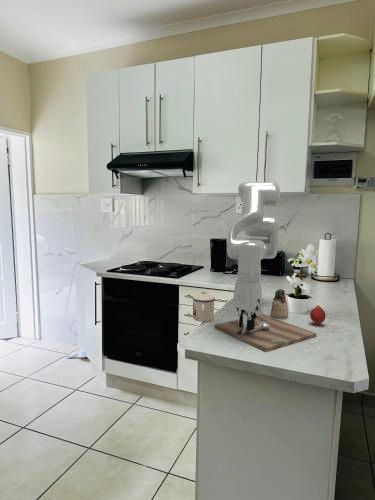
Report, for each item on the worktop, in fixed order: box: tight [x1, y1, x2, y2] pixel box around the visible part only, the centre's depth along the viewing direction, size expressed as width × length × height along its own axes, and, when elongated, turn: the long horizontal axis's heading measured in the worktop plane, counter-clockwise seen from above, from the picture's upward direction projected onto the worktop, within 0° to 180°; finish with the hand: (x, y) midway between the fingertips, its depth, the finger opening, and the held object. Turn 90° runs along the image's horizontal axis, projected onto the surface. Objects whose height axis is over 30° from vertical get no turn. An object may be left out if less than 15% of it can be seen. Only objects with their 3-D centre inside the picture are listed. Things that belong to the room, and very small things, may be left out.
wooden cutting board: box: [214, 314, 317, 353], centre depth 125 cm, size 26×26×1 cm
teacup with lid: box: [192, 290, 216, 323], centre depth 137 cm, size 12×9×12 cm
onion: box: [309, 304, 327, 325], centre depth 135 cm, size 6×6×8 cm
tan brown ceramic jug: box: [270, 288, 289, 320], centre depth 144 cm, size 7×7×12 cm
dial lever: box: [236, 311, 270, 335], centre depth 122 cm, size 15×4×7 cm, turn 124°
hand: (246, 327), depth 120 cm, fingers closed on dial lever, 3 cm apart
